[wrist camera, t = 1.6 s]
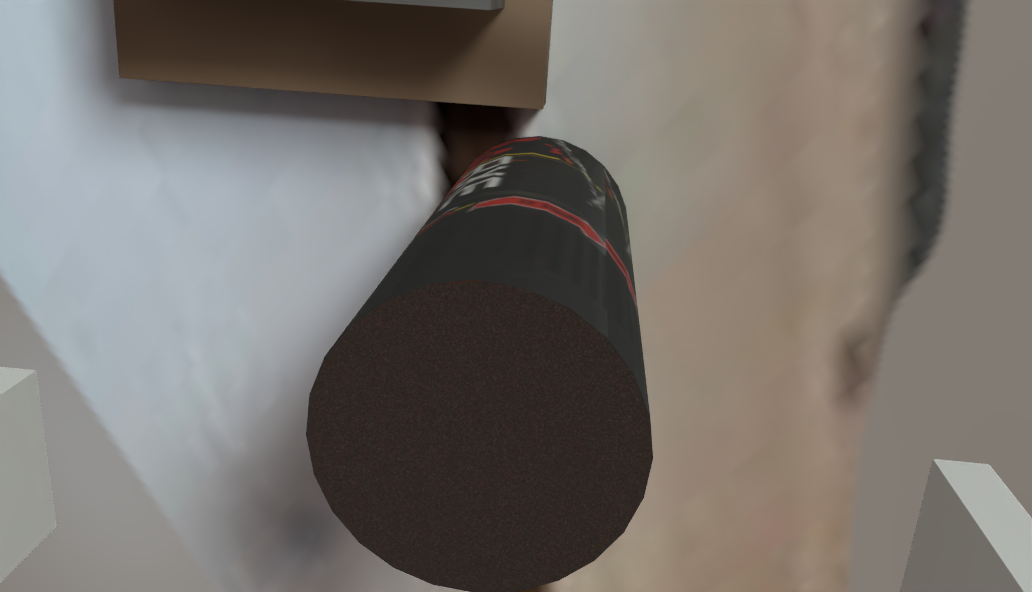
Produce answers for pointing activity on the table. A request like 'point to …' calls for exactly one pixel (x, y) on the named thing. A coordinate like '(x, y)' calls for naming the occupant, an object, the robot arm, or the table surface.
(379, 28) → the socket stand
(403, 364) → the deodorant
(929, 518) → the robot arm
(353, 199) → the table surface
